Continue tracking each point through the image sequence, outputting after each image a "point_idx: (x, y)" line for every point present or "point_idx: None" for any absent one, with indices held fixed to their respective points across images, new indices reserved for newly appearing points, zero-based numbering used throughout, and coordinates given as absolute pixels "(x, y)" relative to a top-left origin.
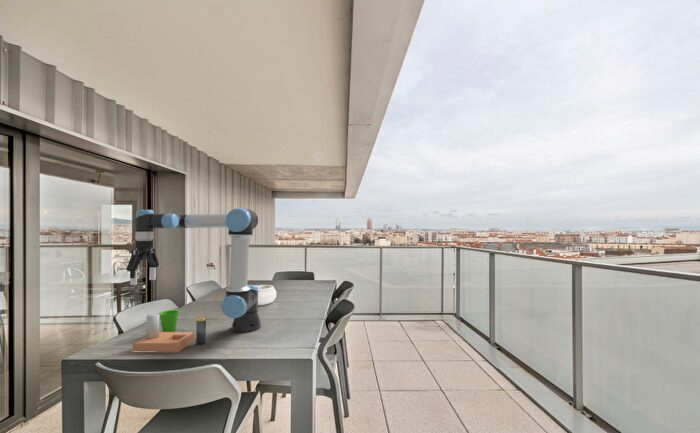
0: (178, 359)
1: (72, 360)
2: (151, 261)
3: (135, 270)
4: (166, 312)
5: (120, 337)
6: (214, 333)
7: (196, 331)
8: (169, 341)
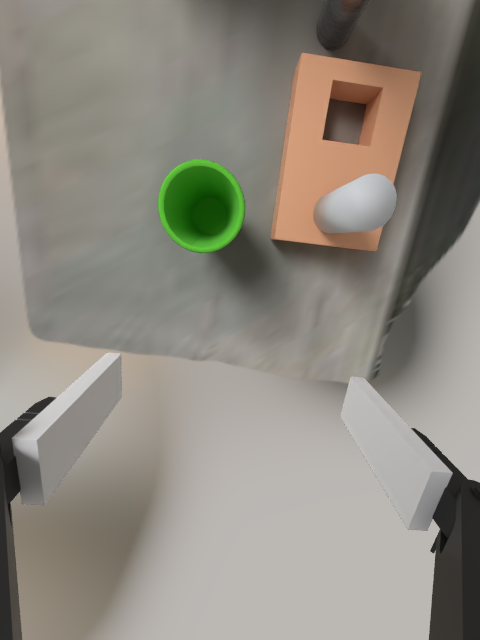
0: (461, 60)
1: (379, 370)
2: (12, 595)
3: (475, 487)
4: (178, 235)
5: (230, 355)
6: (222, 7)
7: (364, 4)
8: (393, 120)
